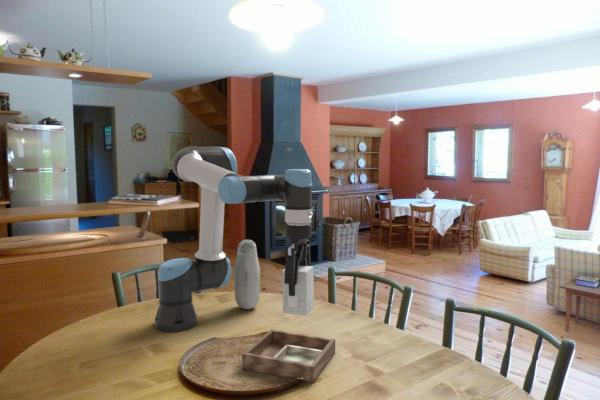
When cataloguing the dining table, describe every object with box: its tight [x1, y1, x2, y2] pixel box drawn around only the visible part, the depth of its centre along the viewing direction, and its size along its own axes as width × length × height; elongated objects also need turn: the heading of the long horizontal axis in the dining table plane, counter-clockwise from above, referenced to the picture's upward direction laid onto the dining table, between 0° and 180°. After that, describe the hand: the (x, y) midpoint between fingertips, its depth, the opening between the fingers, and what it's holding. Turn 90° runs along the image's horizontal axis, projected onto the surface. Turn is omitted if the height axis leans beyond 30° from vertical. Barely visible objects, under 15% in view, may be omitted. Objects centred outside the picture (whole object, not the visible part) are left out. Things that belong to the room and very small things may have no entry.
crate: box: [241, 329, 336, 384], centre depth 137 cm, size 22×20×4 cm
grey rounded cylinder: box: [233, 239, 261, 310], centre depth 182 cm, size 10×10×28 cm
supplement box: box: [281, 265, 315, 316], centre depth 131 cm, size 7×7×13 cm
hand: (298, 301), depth 131 cm, fingers closed on supplement box, 7 cm apart
